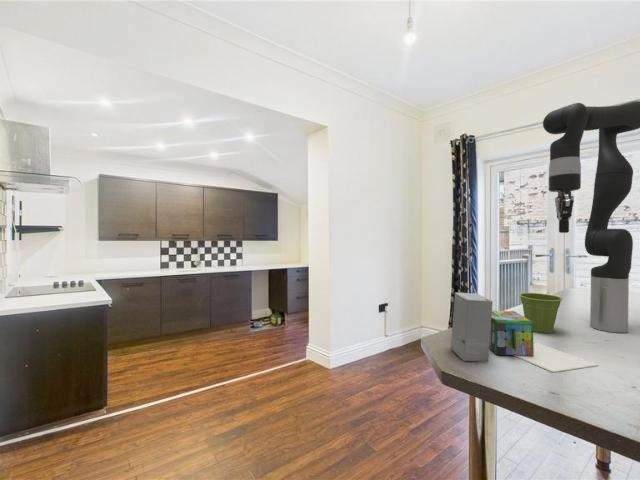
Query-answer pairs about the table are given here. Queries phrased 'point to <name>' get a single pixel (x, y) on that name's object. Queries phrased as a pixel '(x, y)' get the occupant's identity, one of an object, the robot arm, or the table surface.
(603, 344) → the table surface
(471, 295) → the skincare box
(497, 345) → the chalk box
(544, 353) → the mat
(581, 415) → the table surface
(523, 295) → the plant pot
